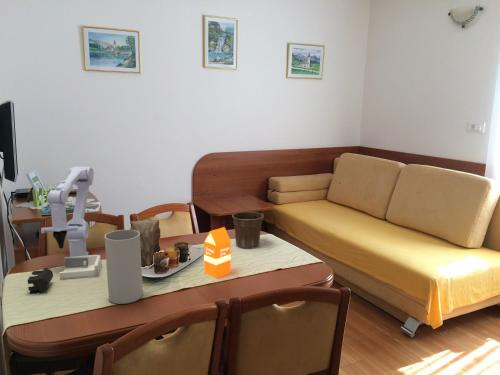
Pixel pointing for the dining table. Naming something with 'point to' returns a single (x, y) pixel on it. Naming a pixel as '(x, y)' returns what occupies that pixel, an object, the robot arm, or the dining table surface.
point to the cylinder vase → (123, 266)
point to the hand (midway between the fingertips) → (61, 247)
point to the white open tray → (83, 268)
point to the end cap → (40, 281)
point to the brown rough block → (147, 239)
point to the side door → (76, 262)
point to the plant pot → (247, 229)
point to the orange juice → (217, 253)
